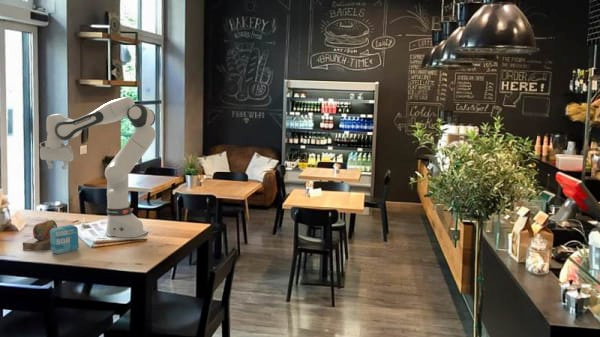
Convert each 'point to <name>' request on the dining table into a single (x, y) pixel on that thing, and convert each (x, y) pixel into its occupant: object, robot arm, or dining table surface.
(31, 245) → the walnut block
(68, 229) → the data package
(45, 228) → the tin
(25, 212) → the dining table surface
